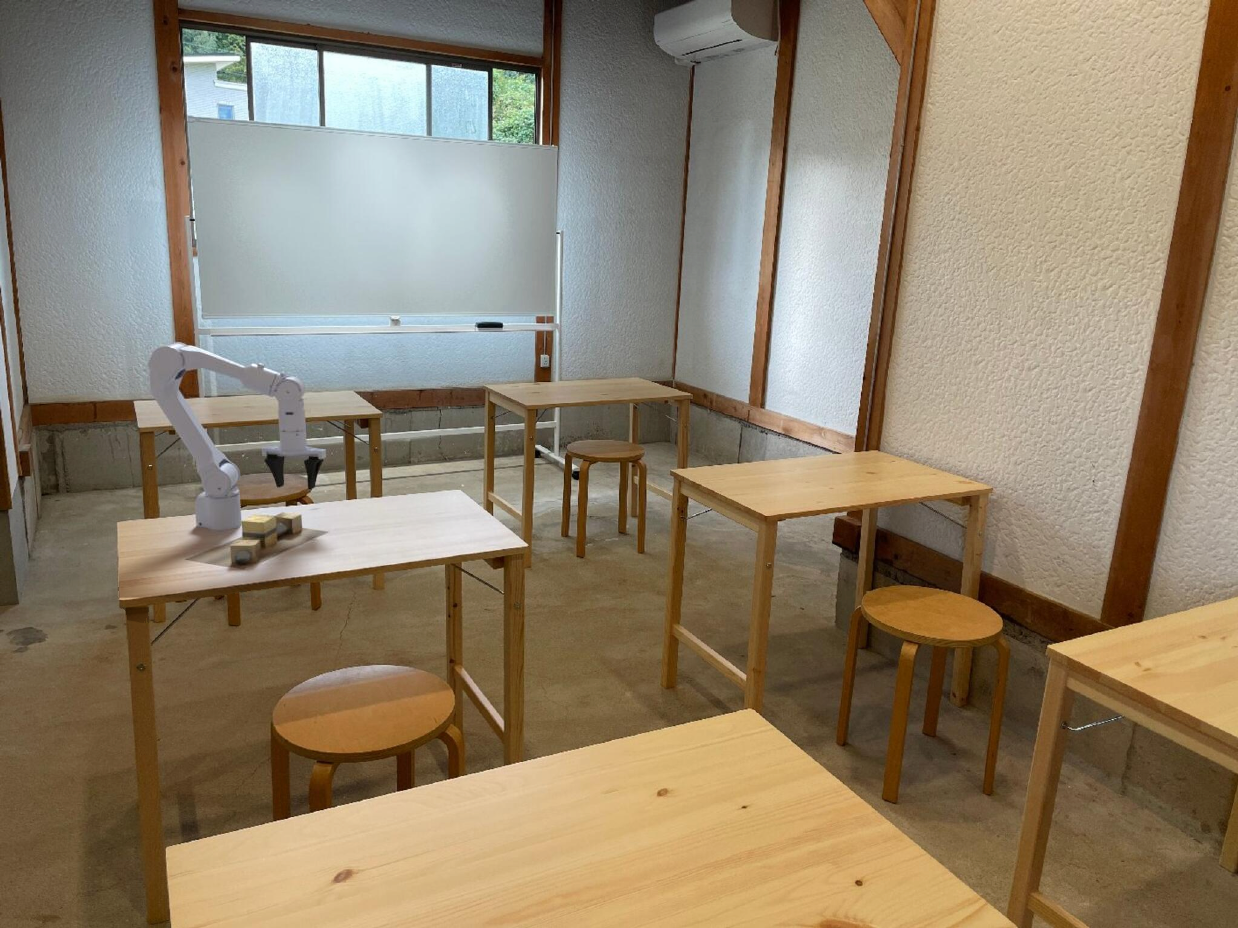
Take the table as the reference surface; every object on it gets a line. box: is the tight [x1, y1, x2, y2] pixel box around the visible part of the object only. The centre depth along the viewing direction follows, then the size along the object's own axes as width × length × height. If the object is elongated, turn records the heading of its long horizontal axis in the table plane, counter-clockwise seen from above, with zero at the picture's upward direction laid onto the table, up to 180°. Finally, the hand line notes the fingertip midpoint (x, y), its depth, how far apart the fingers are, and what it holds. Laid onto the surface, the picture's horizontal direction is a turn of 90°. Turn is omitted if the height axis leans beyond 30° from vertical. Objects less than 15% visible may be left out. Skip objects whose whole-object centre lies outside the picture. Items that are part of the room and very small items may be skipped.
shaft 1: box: [230, 538, 262, 565], centre depth 183 cm, size 9×5×4 cm, turn 6°
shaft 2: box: [275, 511, 303, 538], centre depth 199 cm, size 9×5×4 cm, turn 166°
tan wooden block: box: [241, 514, 277, 549], centre depth 191 cm, size 5×5×6 cm
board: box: [184, 527, 329, 570], centre depth 192 cm, size 15×27×1 cm, turn 161°
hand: (296, 487), depth 205 cm, fingers open, 7 cm apart
